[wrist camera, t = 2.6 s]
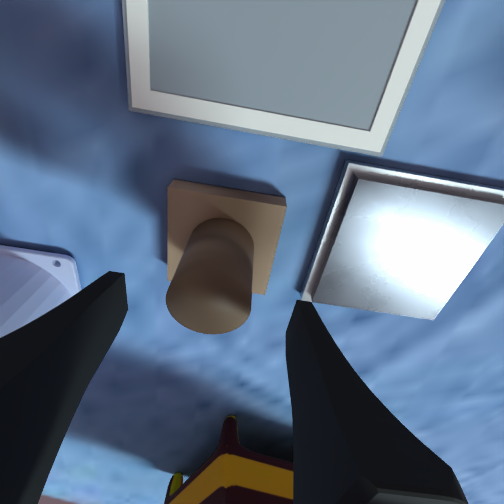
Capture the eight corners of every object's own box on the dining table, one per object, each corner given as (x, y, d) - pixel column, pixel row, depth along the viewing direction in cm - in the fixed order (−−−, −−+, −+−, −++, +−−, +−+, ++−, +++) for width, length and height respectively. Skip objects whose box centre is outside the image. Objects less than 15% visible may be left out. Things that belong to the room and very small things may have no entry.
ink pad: (300, 293, 19) (302, 306, 18) (346, 159, 14) (352, 166, 13) (428, 313, 20) (437, 326, 19) (514, 190, 15) (532, 199, 14)
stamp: (173, 267, 19) (140, 342, 14) (174, 177, 15) (132, 233, 10) (264, 280, 19) (265, 358, 14) (285, 195, 16) (294, 258, 11)
